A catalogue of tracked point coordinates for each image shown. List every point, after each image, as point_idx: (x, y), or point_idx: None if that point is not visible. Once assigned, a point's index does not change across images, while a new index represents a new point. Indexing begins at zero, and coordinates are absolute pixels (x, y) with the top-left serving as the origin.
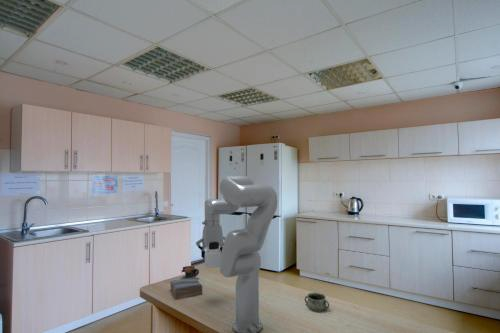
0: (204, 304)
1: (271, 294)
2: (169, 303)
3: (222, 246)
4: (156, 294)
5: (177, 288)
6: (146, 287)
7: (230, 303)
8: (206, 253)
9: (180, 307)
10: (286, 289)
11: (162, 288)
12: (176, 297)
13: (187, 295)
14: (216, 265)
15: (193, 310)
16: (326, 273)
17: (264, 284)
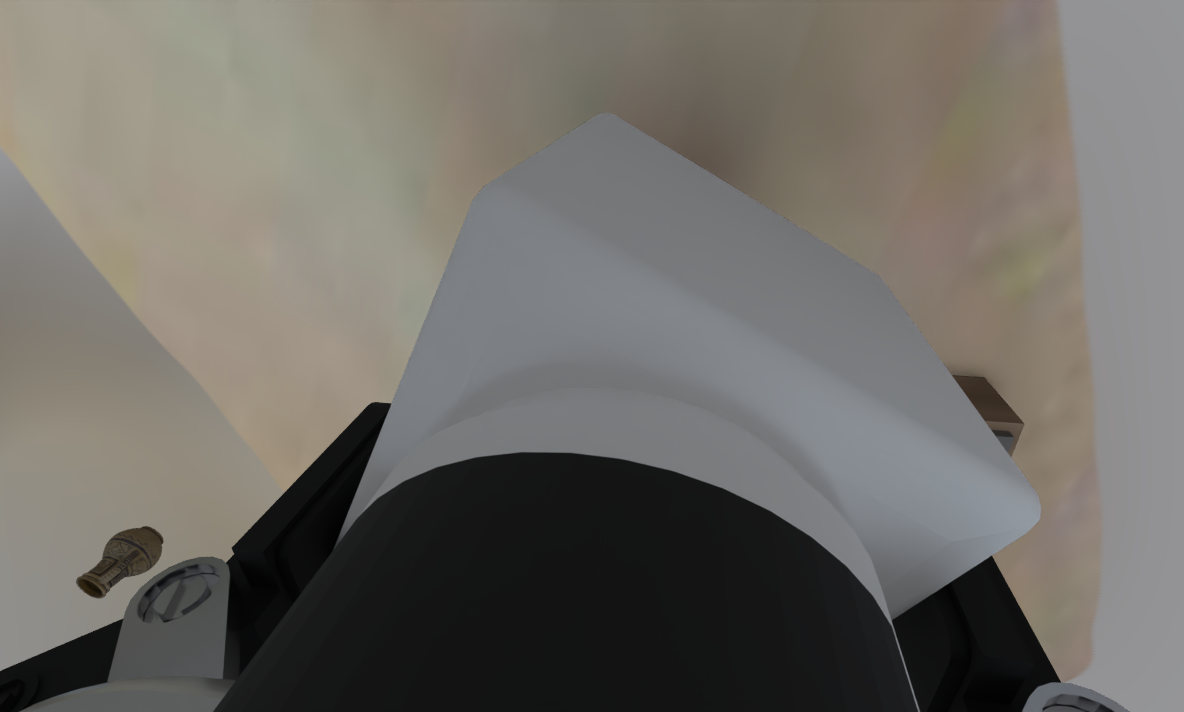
0: (795, 154)
1: (159, 63)
2: (1076, 336)
3: (185, 629)
4: (1068, 543)
5: None
6: (1063, 677)
7: (557, 51)
8: (984, 476)
9: (1036, 202)
10: (27, 102)
11: None
12: (985, 386)
13: None
14: (648, 145)
15: (959, 67)
16: (84, 590)
17: (197, 287)
